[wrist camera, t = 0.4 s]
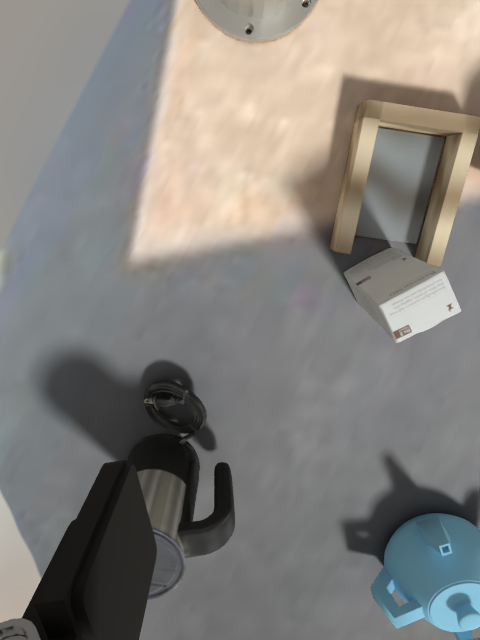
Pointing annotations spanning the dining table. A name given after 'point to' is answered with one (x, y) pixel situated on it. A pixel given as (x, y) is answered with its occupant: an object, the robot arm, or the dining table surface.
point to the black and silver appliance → (179, 489)
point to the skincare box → (402, 293)
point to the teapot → (432, 574)
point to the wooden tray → (404, 177)
